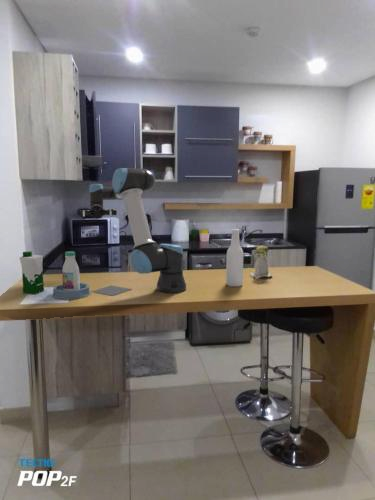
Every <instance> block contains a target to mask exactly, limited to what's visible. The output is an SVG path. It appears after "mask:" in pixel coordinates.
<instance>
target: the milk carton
mask: <svg viewBox="0 0 375 500" xmlns="http://www.w3.org/2000/svg"><path fill="white" fill-rule="evenodd" d="M43 259H44V255H41V254H33V252H32V251H23V252H22V256H20V257H19V261H20V264H21V273H22V275H21V276H22V294H24V295H25V294H27V295H38V294H39V293H42V292H44V291H45V286H44V284H45V283H44V274H43V273H44V269H43Z"/></svg>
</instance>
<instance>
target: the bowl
mask: <svg viewBox="0 0 375 500" xmlns="http://www.w3.org/2000/svg"><path fill="white" fill-rule="evenodd" d="M91 293H92V291H91V290H90V284H89V283H85V282H81V281H80V289H79V290H70V291H63V283H60V284H57V285H54V286H53V289H52V297H54V299H55V300H64V301H65V300H66V301H67V300H69V301H70V300H79V299H83V298H87V297H88V296H90V295H91Z"/></svg>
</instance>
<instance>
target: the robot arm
mask: <svg viewBox="0 0 375 500" xmlns="http://www.w3.org/2000/svg"><path fill="white" fill-rule="evenodd" d="M111 182H112V184H111V185H112V186H111V187H106V186H105V187H104V186H103V184H102V183H90V184H89V192H88V193H89V207H90V208H89V209H82V210H76V213H77V216H78V217H79V216H80V217H81V218H83V217H85V216H91V217H92V218H94V219H95V220H98V219H102V217H103V216H110V217H112V216H118V215H117V209H115V210H114V209H113V208H112V209H105V208H104V201H123V202H124V205H125V209H126V214H127V217H128V221H129V226H130V230H131V234H132V238H133V242H134V245H133V247H132V251H131V253H130V257H129V259H130V263H131V267H132V268H133V270H134V271H135V272H137V273H138V274H140V275H141V274H142V275H144V274H150V273H155V272H159V277H158V280H157V283H156V290H157V291H158V292H161V293H165V294H166V293H167V294H169V293H170V294H173V293H174V294H175V293H176V294H177V293H182V292H184V291H186V290H187V283H186V279H185V276H184V271H183V270H184V268H183V267H184V251H183V247H182V246H181V245H179V244H171V243H160V244H159V247H158V245H157V242H156V241H155V240H153V239H152V234H151V230H150V226H149V223H148V219H147V214H146V211H145V208H144V207H145V206H144V203H143V198H142V195H143V193H147V192H149V191H151V190H153V189H154V187H155V184H156V178H155V175H154V174H153V173H152V172H151V171H150V170H148V169H146V168H133V167H132V168H131V167H130V168H128V167H124V168H122V167H119V168H117V169H116V170H115V171H114V173H113V175H112V180H111Z"/></svg>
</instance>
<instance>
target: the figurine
mask: <svg viewBox="0 0 375 500" xmlns="http://www.w3.org/2000/svg"><path fill="white" fill-rule="evenodd" d="M268 252H269V247H268V246H265V245H259V246H257V247H256V248H255V249H254V256H256V257H257V258H256V260H255V263H254V266H253V267H254V268H253V269H254V270H255V271H254V272H251V271H250V273H249V277H251V278H253V279H257V280H258V279H260V278H263V277H267V278H270V277H273V273H269V266H268V260H267V257H268Z"/></svg>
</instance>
